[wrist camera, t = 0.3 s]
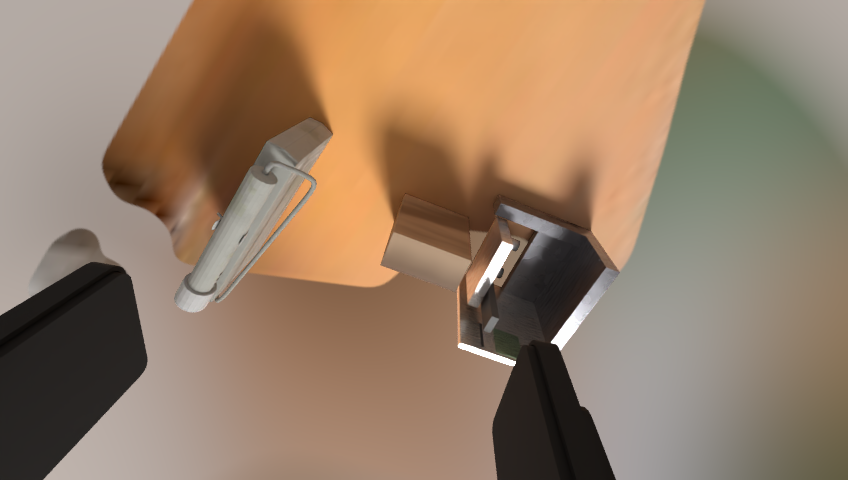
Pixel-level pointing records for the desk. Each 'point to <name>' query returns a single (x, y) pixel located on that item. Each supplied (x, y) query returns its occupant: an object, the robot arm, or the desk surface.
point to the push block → (429, 243)
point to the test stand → (538, 287)
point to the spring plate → (489, 261)
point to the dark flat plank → (489, 310)
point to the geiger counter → (254, 213)
